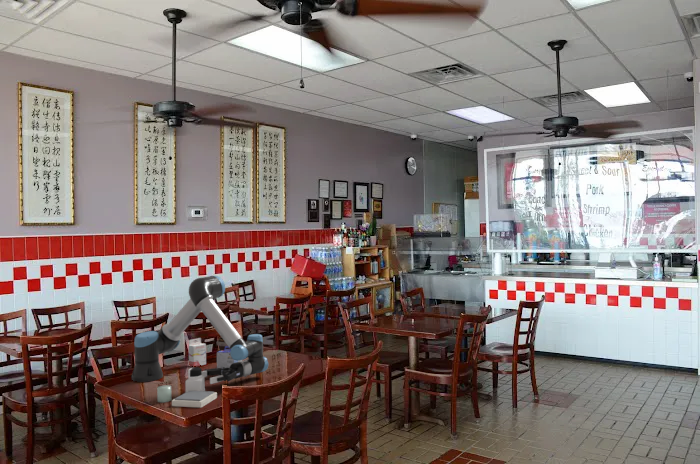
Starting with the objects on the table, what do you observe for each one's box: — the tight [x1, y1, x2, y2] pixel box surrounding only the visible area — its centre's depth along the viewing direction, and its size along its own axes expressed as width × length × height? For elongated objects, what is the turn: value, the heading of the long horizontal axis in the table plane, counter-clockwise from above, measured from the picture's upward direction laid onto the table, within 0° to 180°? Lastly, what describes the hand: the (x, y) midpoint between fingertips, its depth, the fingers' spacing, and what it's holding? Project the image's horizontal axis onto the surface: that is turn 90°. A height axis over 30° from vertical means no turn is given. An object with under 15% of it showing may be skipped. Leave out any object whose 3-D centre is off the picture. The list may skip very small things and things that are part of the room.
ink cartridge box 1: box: [188, 337, 207, 368], centre depth 309 cm, size 9×5×15 cm, turn 141°
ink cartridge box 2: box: [216, 346, 238, 368], centre depth 286 cm, size 10×6×14 cm, turn 78°
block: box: [156, 384, 173, 403], centre depth 244 cm, size 6×6×6 cm
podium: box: [171, 390, 218, 409], centre depth 240 cm, size 14×14×3 cm
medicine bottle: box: [184, 366, 206, 393], centre depth 252 cm, size 7×7×12 cm
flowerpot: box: [215, 337, 230, 351], centre depth 326 cm, size 14×15×20 cm
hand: (202, 378), depth 254 cm, fingers open, 13 cm apart
